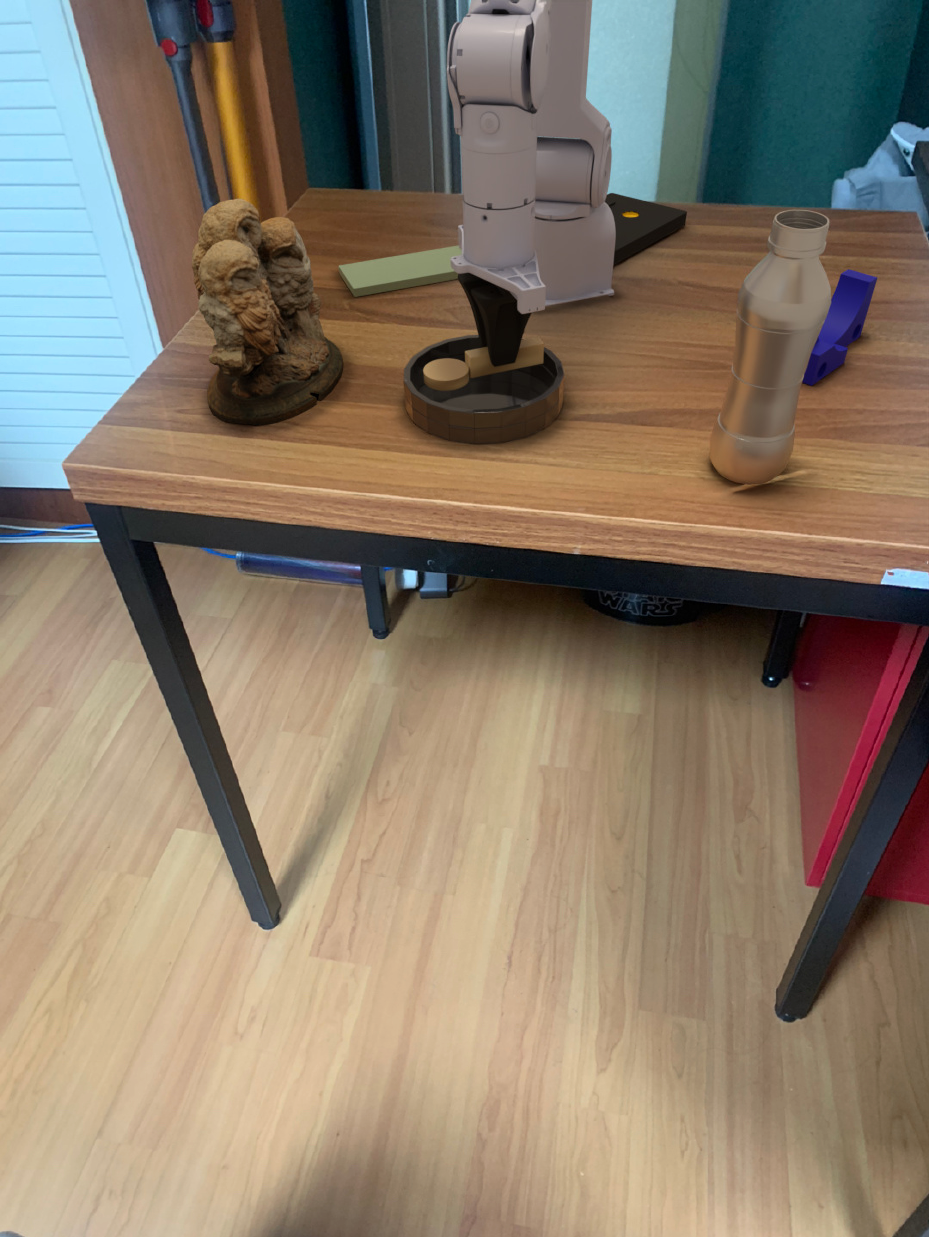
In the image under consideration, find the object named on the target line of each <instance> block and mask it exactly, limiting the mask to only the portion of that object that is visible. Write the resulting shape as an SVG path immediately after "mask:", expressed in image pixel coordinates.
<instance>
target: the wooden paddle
mask: <svg viewBox="0 0 929 1237" xmlns="http://www.w3.org/2000/svg"><path fill="white" fill-rule="evenodd" d="M522 339H523V340H521V344H520V348H519V352H518V355H517V358H516V361H515V363H512V364H507V365H502V366H497V367H494V366H493V365H492V363H491V360H490V357H489V353H488V347H483V348H478V349H473V350H468V351H465V362H463V361H461V360H457V359H451V358H444V359H438V360H434V361H431V362H429V363H428V364H427V365H426V366H425V367H424V369H423V375H424V383H425V384H426V385H427V386H428V387H430V388H432V389H435V390H440V391H450V390H456V389H459V388H461V387H463V386H465V385H466V384H467V383H468V381H469V377H470V378H475V377H480V376H484V375H489V374H494V373H499V372H504V371H509V370H514V369H518V368H523V367H528V366H533V365H538V364H543V355H544V347H545V343H544V342H543V340H542V339H541V338H540V337H539V336H534V337H529V338H522Z"/></svg>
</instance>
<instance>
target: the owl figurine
mask: <svg viewBox="0 0 929 1237" xmlns="http://www.w3.org/2000/svg"><path fill="white" fill-rule="evenodd" d="M197 235H198V237H197V238H198V239H197V240H198V241H197V243H196V244H195V246H194V248H193V249H192V253H191V260H192V261H191V268H192V272H193V277H194V278H193V283H194V285H195V289H196V291H197V298H198V302H197V304H198V310H199V312H200V314H201V315H203V318H204V321H205V323H206V324H207V325H208V327H209V328H211V329H212V331H213V338H214V339H215V343H216V344H214V345H213V346H212V349H211V351H212V352H211V353H210V354H209V355H208V361H209V363H210V364H212V365H214V366H217V367H218V369H217V370H216V372H214V373H213V376H212V377H211V379H210V381H209V383H208V387H207V391H206V398H207V403H208V407H209V409H210V412H211V413H212V415H213V416H214V417H216V418H217V419H218V418H219V419H220V420H221V421H223V422H224V423H226V424H227V423H230V424H232V423H233V424H243V425H246V424H247V425H252V426H257V427H259V426H267V425H273V424H278V423H280V422H284V421H288V420H290V419H293V418H295V417H297V416H299V415H301V414H303V413H305V412H307V411H308V410H310V409H313V408H314V407H315V406H316V405H317V404H318V402H322V401H323V400H324V399H326V397H328V395H329V394H331V392H332V391H334V389H335V387H336V386H337V384H338V383H339V381H340V379H341V378H342V374H343V371H344V359H343V355H342V352H341V350H340V348H339V347H338V346H337V345H336V344H335V343H334V342H333V341H332V340H329V339H328V338H327V337H326V336H325V334H324V330H323V326H322V323H321V320H320V313H321V311H320V310H321V304H322V301H321V296H320V295H319V294H317V293H315V292H314V289H315V288H314V278H313V277H312V274H313V271H312V268H311V267H312V266H311V260H310V257H309V256H308V254H307V253H308V251H307V249H306V246H305V245H306V244H304V241H303V238H302V237H301V234H300V233H299V231H298V229H297V227H296V226H295V222H294V221H292V220H291V219H290V218H288V217H283V216H275V217H271V218H268V219H266V220H263V221H262V222H261V215H260V213H259V211H258V210H257V208H256V206H255V205H254V204H252V203H251V202H250V201H247V200H245V199H244V198H234V199H229V200H222V201H219V202H217V204H215V205H212V206H210V207H209V208H208V209H207V210H206V211H205V213H203V215H202V219H201V223H200V226H199V229H198V231H197ZM259 365H260V366H259ZM257 366H258V367H257ZM311 393H312V394H317V395H318V399H317V397H316V396H314V395H312V394H311Z"/></svg>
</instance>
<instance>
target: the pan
mask: <svg viewBox="0 0 929 1237" xmlns="http://www.w3.org/2000/svg"><path fill="white" fill-rule="evenodd" d="M523 339H524V338H522V340H523ZM478 348H482V347H481V344H480V340H479V336H478V334H467V335H462V336H457V337H451V338H447V339H443V340H441V341H438V342H436V343H433V344H430V345H427V346H426V347H424V348H423V349H421V350H420V351H419V352H417V353H416V354H414V355H413V356H412V357H410V359H409V361H408V362H407V363H406V365H405V366H404V368H403V389H404V390H403V391H404V403H405V411H406V413H407V414H408V416H409V418H410V419H411V421H412V423H413V424H415V426H417V427H418V428H419V429H421V430H422V431H424V432H426V433H428V434H430V435H432V436H433V437H436V438H440V439H443V440H446V441H449V442H454V443H455V442H456V443H461V444H469V445H493V444H494V445H495V444H502V443H508V442H513V441H518V440H521V439H525V438H528V437H530V436H533V435H535V434H536V433H539V432H541V431H542V430H544V429H545V428H547V427H548V426H550V425H551V424H552V423H553V422H554V421H555V420H556V419H557V418H558V417H559V415H560V412H561V410H562V407H563V404H564V390H565V370H564V366H563V362H562V361H561V360H560V359H559V357H558V356H557V355H556V354H555V353H554V352H553V351H552V350H550V349H548V348H547V347H545V346H544V355H543V364H538V365H533V366H528V367H523V368H518V369H514V370H509V371H504V372H499V373H494V374H489V375H484V376H480V377H475V378H470V377H469V381H468V383H467V384H466V385H465V386H463V387H461V388H459V389H456V390H450V391H440V390H435V389H432V388H430V387H428V386H427V385H426V384H425V383H424V375H423V369H424V367H425V366H426V365H427V364H428V363H429V362H431V361H434V360H438V359H444V358H451V359H457V360H461V361H463V362H465V351H468V350H473V349H478Z"/></svg>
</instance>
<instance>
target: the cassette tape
mask: <svg viewBox="0 0 929 1237" xmlns="http://www.w3.org/2000/svg"><path fill="white" fill-rule="evenodd" d="M605 203H606V204H607V205H608V206H609V207H610V209H611V211H612V214H613V217H614V222H615V230H616V239H615V250H614V262H613V266H614V265H616V264H618V263H620V262H622V261H624V260H625V259H628V258H629V257H631V256H633V255H634V254H636V253H638V252H639V251H642V250H644V249H646V248H647V247H649V246H651V245H652V244H654V243H656V242H658V241H660V240H661V239H663V238H665V237H667V236H669V235H670V234H672V233H674V232H676V231H677V230H680V229H681V228H684V227H685V226H686V223H687V216H688V215H687V214H688V211H687V210H684V209H680V208H676V207H671V206H668V205H664V204H659V203H656V202H652V201H648V200H647V201H646V200H644V199H639V198H635V197H632V196H627V195H622V194H619V193H615V192H609V193H607V196H606V200H605Z"/></svg>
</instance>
